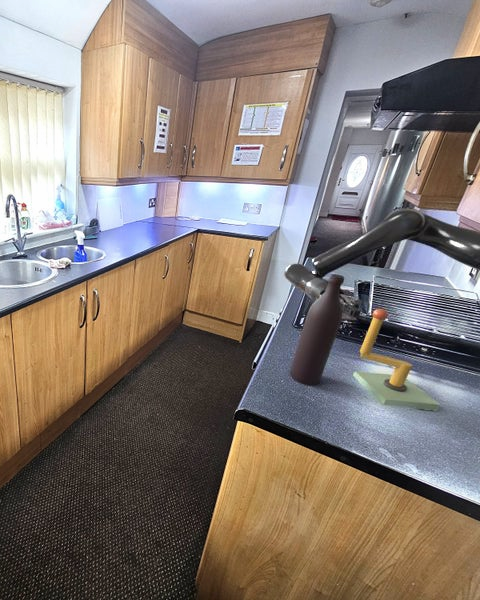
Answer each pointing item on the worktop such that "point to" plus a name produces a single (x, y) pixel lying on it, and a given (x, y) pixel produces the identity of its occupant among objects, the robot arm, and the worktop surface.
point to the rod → (401, 366)
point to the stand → (395, 391)
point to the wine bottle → (318, 335)
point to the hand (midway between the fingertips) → (356, 314)
